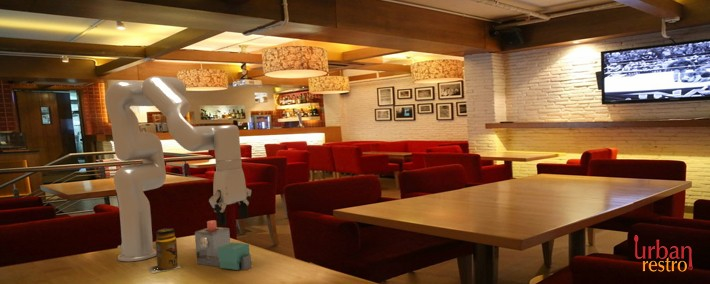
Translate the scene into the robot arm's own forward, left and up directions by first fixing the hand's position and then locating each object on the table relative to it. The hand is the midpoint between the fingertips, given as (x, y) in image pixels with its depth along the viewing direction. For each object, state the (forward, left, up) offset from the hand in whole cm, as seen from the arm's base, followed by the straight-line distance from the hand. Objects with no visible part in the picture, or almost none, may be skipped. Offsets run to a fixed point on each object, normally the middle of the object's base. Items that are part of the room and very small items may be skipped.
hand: (233, 221), depth 147 cm
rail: (-5, 0, -14) cm, 15 cm away
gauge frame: (-19, +10, -14) cm, 26 cm away
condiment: (-22, -8, -14) cm, 27 cm away
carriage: (-1, 0, -14) cm, 14 cm away
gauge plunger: (-19, +10, -8) cm, 23 cm away
